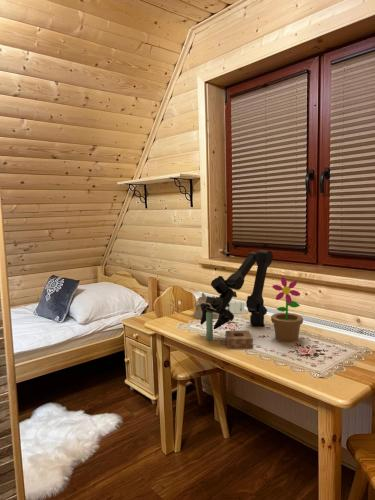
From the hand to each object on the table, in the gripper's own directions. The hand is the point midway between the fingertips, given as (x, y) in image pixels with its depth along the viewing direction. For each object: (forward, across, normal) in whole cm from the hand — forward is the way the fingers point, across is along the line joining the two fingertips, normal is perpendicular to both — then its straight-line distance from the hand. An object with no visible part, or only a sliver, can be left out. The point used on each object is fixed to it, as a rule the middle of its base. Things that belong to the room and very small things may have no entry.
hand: (207, 326), depth 172 cm
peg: (+4, 0, +6) cm, 7 cm away
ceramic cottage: (-14, -30, +24) cm, 41 cm away
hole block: (-1, +12, +11) cm, 16 cm away
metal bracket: (-26, -26, +37) cm, 52 cm away
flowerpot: (-16, +23, +26) cm, 38 cm away
